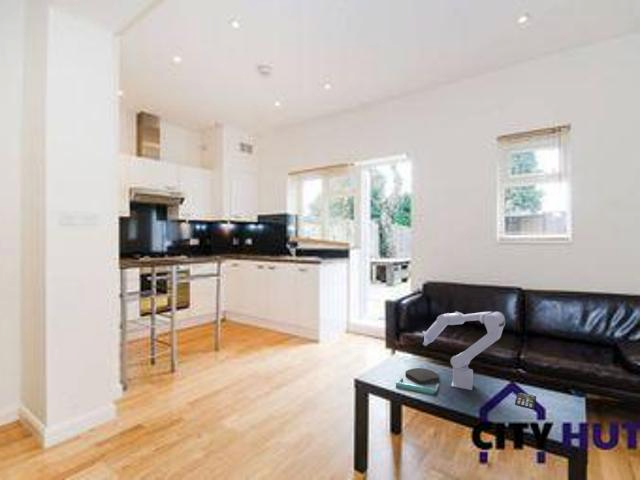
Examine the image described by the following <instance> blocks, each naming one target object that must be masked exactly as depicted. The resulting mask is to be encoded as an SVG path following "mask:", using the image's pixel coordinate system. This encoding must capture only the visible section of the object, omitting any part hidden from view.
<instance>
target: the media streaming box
mask: <svg viewBox="0 0 640 480" xmlns="http://www.w3.org/2000/svg"><path fill="white" fill-rule="evenodd" d="M404 375H405V377H406V378H407V379H409V380H410V381H412V382H414V383H415V384H419V385H429V384H433V383H437V382H440V374H438V373H436V371H433V370H432V369H429V368H425V367H424V368H423V367H415V368H409V369H408V370H406V371H405V374H404Z"/></svg>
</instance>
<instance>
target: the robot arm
mask: <svg viewBox="0 0 640 480" xmlns="http://www.w3.org/2000/svg"><path fill="white" fill-rule="evenodd" d="M473 321H479V322H480V323H481V324H484V327H485V328H486V331H487V333H486V334H485V335H483V336H482V337H481V338H480V339H479V340H477V341H476V342H475V343H473V344H472V345H470V346H469V347H468V348H467V349H465V350H464V351H462V352H459V354H456V355H453V356H452V357H451V358H450V365H451V366H452V382H451V387H453V388H457V389H458V388H459V389H464V390H470V391H473V385H474V380H473V379H474V376H473V374H474V370H473V369H471V368H469V365H470V363H471V361H472V360H473V359H474V358H475V357H476V356H478V355H479V354H481V353H482V352H483V351H484V350H486V349H487V348H489V347H490V346H491V345H493V344H494V343H496V342H497V341H499V340H500V338H501V337H502V334H503V330H504V328H505V325H506V318H505V315H504V314H503V313H502V312H501V311H482V312H481V311H479V312H475V313H474V312H473V313H466V314H464V313H462V312H459V311H454V312H452V313H451V312H450V313H449V312H447V313H444V314H443V313H442V314H440V315H438V316H437V317H436V320H435V321H434V322H433V323H432V324H431V326H430V327H429V328H428V329H427V330H422V334H423V336H422V337H421V338H420V339H419V343H418V345H417V347H416V351H417V352H419V353H420V352H422V351H424V350H426V349H429V348H430V345H429V344H430V343H433V342H434V341H435V340H436V339H437V338H438V336H439V335H440V334H441V333H442V332H443V331H444V329H445V328H446V327H447V326H449V325H450V326H455V325H463V324H464V323H465V322H473Z"/></svg>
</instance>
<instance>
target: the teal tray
mask: <svg viewBox="0 0 640 480" xmlns="http://www.w3.org/2000/svg"><path fill="white" fill-rule="evenodd" d="M403 380H404V378H403V377H400V378H399V379H398V381H396V382H395V388H397V389H401V390H402V389H403V390H407V391H411V392H412V391H413V392H417V393H423V394H426V395H427V394H428V395H431V396H432V395H433V396H437V394H438V391H439V386H440V384H439V383H436V384H435V387H434V388H432V387H426V386H421V385H416V384H411V383H405V382H403Z"/></svg>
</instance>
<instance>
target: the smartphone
mask: <svg viewBox="0 0 640 480" xmlns="http://www.w3.org/2000/svg"><path fill="white" fill-rule="evenodd" d="M536 399H537V397H536V396H535V395H533V394H530V393H525V392H524V393H523V392H520V393H519V392H517V395H516V398H515V402H514V405H515V406H518V407H521V408H525V409H530V410H535V407H536Z"/></svg>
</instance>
